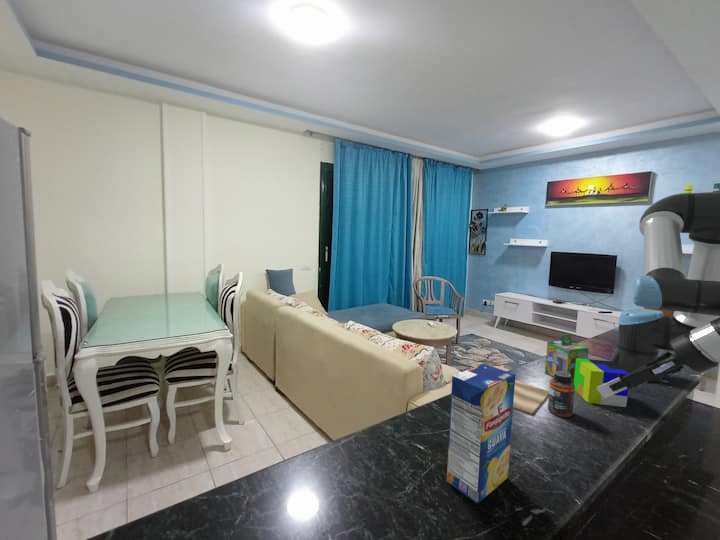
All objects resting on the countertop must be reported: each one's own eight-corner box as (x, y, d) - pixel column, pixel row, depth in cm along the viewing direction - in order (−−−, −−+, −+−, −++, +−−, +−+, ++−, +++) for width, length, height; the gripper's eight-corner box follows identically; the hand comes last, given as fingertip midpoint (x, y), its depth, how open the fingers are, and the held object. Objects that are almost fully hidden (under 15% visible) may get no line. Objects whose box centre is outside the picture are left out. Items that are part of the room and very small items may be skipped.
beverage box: (446, 481, 66) (452, 376, 63) (477, 459, 72) (484, 363, 70) (477, 504, 60) (484, 390, 58) (507, 477, 67) (515, 374, 64)
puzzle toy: (626, 407, 96) (630, 374, 94) (587, 403, 98) (591, 370, 96) (607, 391, 105) (611, 361, 104) (573, 387, 107) (576, 358, 106)
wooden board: (510, 380, 111) (511, 379, 111) (550, 393, 103) (550, 391, 103) (488, 399, 98) (488, 397, 98) (531, 415, 90) (531, 413, 90)
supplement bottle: (569, 409, 94) (572, 371, 93) (575, 420, 88) (579, 379, 87) (545, 405, 96) (548, 367, 94) (549, 415, 90) (553, 376, 89)
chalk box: (566, 384, 110) (571, 341, 108) (543, 372, 118) (547, 332, 117) (586, 380, 113) (591, 338, 111) (562, 369, 121) (566, 330, 119)
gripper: (715, 371, 62) (602, 414, 78) (726, 358, 70) (621, 399, 85) (680, 337, 66) (579, 384, 81) (694, 327, 74) (599, 372, 89)
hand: (601, 392), depth 83 cm, fingers closed
